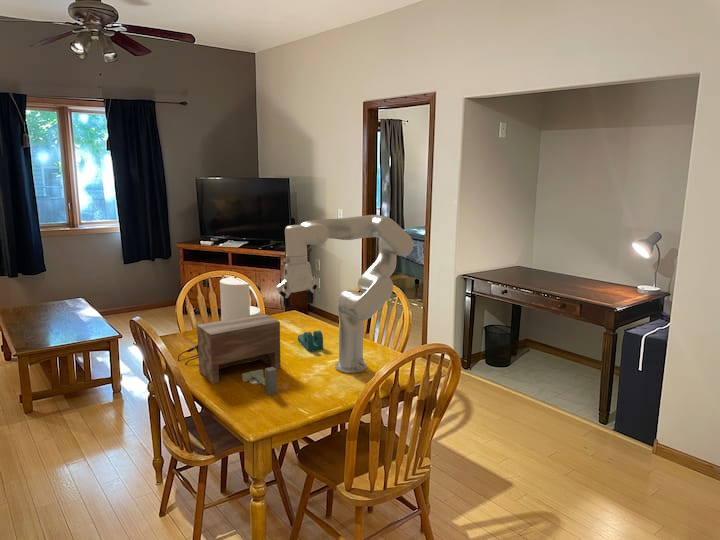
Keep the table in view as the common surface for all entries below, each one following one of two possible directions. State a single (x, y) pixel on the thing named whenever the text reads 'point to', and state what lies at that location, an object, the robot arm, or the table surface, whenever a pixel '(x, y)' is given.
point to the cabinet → (237, 343)
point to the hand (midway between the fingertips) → (298, 305)
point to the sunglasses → (190, 351)
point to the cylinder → (235, 299)
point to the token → (254, 381)
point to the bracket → (311, 341)
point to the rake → (269, 379)
